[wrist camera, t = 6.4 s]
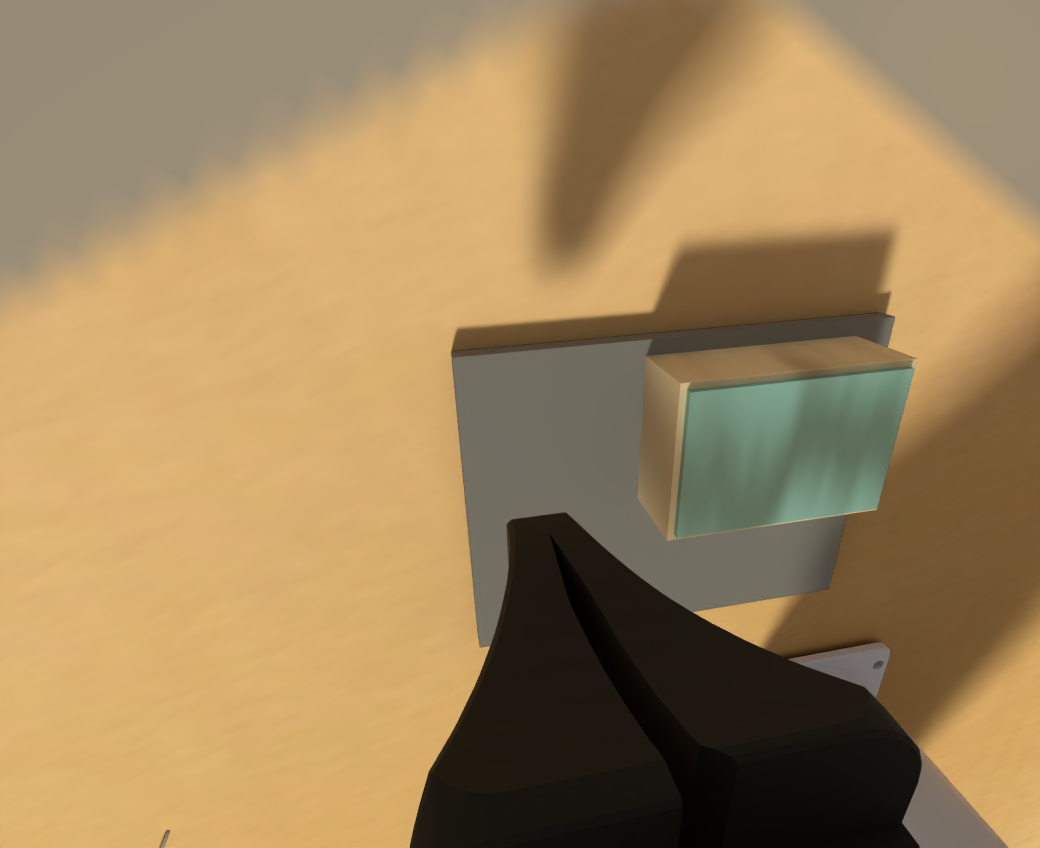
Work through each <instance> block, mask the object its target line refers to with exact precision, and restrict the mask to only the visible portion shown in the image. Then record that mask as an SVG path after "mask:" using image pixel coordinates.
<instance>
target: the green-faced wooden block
mask: <svg viewBox="0 0 1040 848" xmlns="http://www.w3.org/2000/svg"><path fill="white" fill-rule="evenodd" d="M916 362H917V358H914V357H912V356H909V355H906V354H904V353H901V352H898V351H896V350H893V349H890V348H887V347H885V346H882V345H879V344H877V343H874V342H871V341H869V340H866V339H863V338H861V337H858V336H848V337H838V338H827V339H817V340H807V341H796V342H786V343H776V344H765V345H755V346H745V347H734V348H724V349H714V350H703V351H693V352H682V353H672V354H662V355H651V356H646V361H645V378H644V396H643V414H642V431H641V449H640V466H639V484H638V500H639V501H640V502H641V504H642V505H643V507H644V508H645V510H646V511H647V513H648V514H649V515H650V517H651V518H652V520H653V521H654V523H655V524H656V526H657V527H658V528H659V530H660V531H661V533H662V534H663V536H664V537H665V539H666V540H667V541H669V540H675V539H682V538H689V537H696V536H703V535H709V534H716V533H723V532H730V531H737V530H743V529H750V528H757V527H764V526H770V525H777V524H784V523H791V522H798V521H804V520H811V519H818V518H825V517H832V516H838V515H845V514H852V513H859V512H865V511H872V510H877V507H878V503H879V500H880V496H881V492H882V489H883V485H884V481H885V478H886V474H887V470H888V466H889V463H890V459H891V455H892V452H893V448H894V444H895V440H896V437H897V433H898V429H899V426H900V422H901V418H902V415H903V411H904V407H905V403H906V400H907V396H908V392H909V389H910V385H911V381H912V377H913V374H914V370H915V365H916Z"/></svg>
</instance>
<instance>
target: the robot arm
mask: <svg viewBox="0 0 1040 848" xmlns="http://www.w3.org/2000/svg"><path fill="white" fill-rule="evenodd" d="M506 528H507V546H508V564H509V568H508V577H507V584H506V589H505V593H504V598H503V603H502V608H501V612H500V616H499V619H498V623H497V627H496V630H495V633H494V636H493V640H492V643H491V646H490V649H489V651H488V654H487V657H486V659H485V662H484V665H483V667H482V670H481V673H480V675H479V677H478V680H477V682H476V685H475V687H474V689H473V691H472V693H471V695H470V697H469V699H468V701H467V704H466V706H465V708H464V710H463V712H462V714H461V716H460V718H459V720H458V722H457V724H456V726H455V728H454V730H453V732H452V733H451V735H450V737H449V738H448V740H447V742H446V744H445V745H444V747H443V749H442V750H441V752H440V754H439V756H438V757H437V759H436V761H435V762H434V764H433V766H432V767H431V769H430V771H429V773H428V777H427V780H426V784H425V787H424V791H423V794H422V798H421V801H420V805H419V809H418V813H417V817H416V821H415V825H414V829H413V834H412V838H411V843H410V848H1008V846H1007V845H1006V844H1005V843H1004V842H1003V841H1002V840H1001V838H1000V837H999V836H998V835H997V834H996V833H995V832H994V831H993V829H992V828H991V827H990V826H989V825H988V824H987V823H986V822H985V820H984V819H983V818H982V817H981V816H980V815H979V814H978V812H977V811H976V810H975V809H974V808H973V807H972V806H971V805H970V803H969V802H968V801H967V800H966V799H965V798H964V797H963V795H962V794H961V793H960V792H959V791H958V790H957V789H956V788H955V786H954V785H953V784H952V783H951V782H950V781H949V780H948V778H947V777H946V776H945V775H944V774H943V773H942V772H941V771H940V769H939V768H938V767H937V766H936V765H935V764H934V763H933V762H932V760H931V759H930V758H929V757H928V756H927V755H926V754H925V752H924V751H923V750H922V749H921V748H920V747H919V746H918V745H917V743H916V742H915V741H914V740H913V739H912V738H911V737H910V735H909V734H908V733H907V732H906V731H905V730H904V729H903V728H902V726H901V725H900V724H899V723H898V722H897V721H896V720H895V718H894V717H893V716H892V715H891V714H890V713H889V712H888V711H887V709H886V708H885V707H884V706H883V705H882V704H881V703H880V702H879V700H878V699H877V698H876V697H877V694H878V691H879V688H880V684H881V681H882V678H883V675H884V672H885V669H886V666H887V663H888V660H889V657H890V650H889V648H888V647H887V646H886V645H885V644H883V643H881V642H879V643H871V644H866V645H861V646H855V647H850V648H844V649H839V650H834V651H828V652H823V653H817V654H812V655H807V656H801V657H796V658H791V659H786V658H784V657H782V656H779V655H777V654H774V653H772V652H770V651H767V650H765V649H763V648H761V647H758V646H756V645H754V644H752V643H750V642H748V641H745V640H743V639H741V638H739V637H737V636H735V635H733V634H731V633H730V632H728V631H726V630H724V629H722V628H720V627H718V626H716V625H714V624H712V623H710V622H708V621H707V620H705V619H703V618H701V617H700V616H698V615H696V614H694V613H693V612H691V611H690V610H688V609H686V608H685V607H683V606H682V605H680V604H678V603H677V602H675V601H673V600H672V599H670V598H669V597H667V596H666V595H664V594H663V593H661V592H660V591H658V590H657V589H655V588H654V587H653V586H651V585H650V584H649V583H647V582H646V581H645V580H643V579H642V578H641V577H639V576H638V575H637V574H635V573H634V572H633V571H632V570H630V569H629V568H628V567H627V566H625V565H624V564H623V563H622V562H621V561H620V560H618V559H617V558H616V557H615V556H614V555H612V554H611V553H610V552H609V551H608V550H607V549H605V548H604V547H603V546H602V545H601V544H600V543H599V542H598V541H597V540H595V539H594V538H593V537H592V536H591V535H590V534H589V533H588V532H587V531H586V530H585V529H584V528H583V527H582V526H580V525H579V524H578V523H577V522H576V521H575V520H574V519H573V518H572V517H571V516H570V515H569V514H567V513H566V512H563V513H555V514H548V515H540V516H533V517H525V518H518V519H511V520H510V521H509V522H508V523H507V524H506Z"/></svg>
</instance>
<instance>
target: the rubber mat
mask: <svg viewBox="0 0 1040 848" xmlns="http://www.w3.org/2000/svg"><path fill="white" fill-rule="evenodd" d="M894 320H895V317H894V316H891V315H887V314H884V313H870V314H859V315H848V316H837V317H826V318H815V319H804V320H793V321H782V322H771V323H760V324H749V325H738V326H727V327H716V328H705V329H694V330H683V331H672V332H661V333H650V334H639V335H628V336H617V337H606V338H595V339H584V340H573V341H562V342H551V343H540V344H529V345H518V346H507V347H496V348H485V349H474V350H463V351H451V356H452V366H453V377H454V388H455V398H456V409H457V419H458V430H459V440H460V451H461V461H462V472H463V483H464V493H465V504H466V514H467V525H468V535H469V546H470V556H471V567H472V577H473V588H474V599H475V609H476V620H477V630H478V639H479V646H480V648H481V647H487V646H491V643H492V640H493V636H494V633H495V630H496V627H497V623H498V619H499V616H500V612H501V608H502V603H503V598H504V593H505V589H506V584H507V577H508V568H509V564H508V546H507V528H506V524H507V523H508V522H509V521H510V520H511V519H518V518H525V517H533V516H540V515H548V514H555V513H563V512H566V513H567V514H569V515H570V516H571V517H572V518H573V519H574V520H575V521H576V522H577V523H578V524H579V525H580V526H582V527H583V528H584V529H585V530H586V531H587V532H588V533H589V534H590V535H591V536H592V537H593V538H594V539H595V540H597V541H598V542H599V543H600V544H601V545H602V546H603V547H604V548H605V549H607V550H608V551H609V552H610V553H611V554H612V555H614V556H615V557H616V558H617V559H618V560H620V561H621V562H622V563H623V564H624V565H625V566H627V567H628V568H629V569H630V570H632V571H633V572H634V573H635V574H637V575H638V576H639V577H641V578H642V579H643V580H645V581H646V582H647V583H649V584H650V585H651V586H653V587H654V588H655V589H657V590H658V591H660V592H661V593H663V594H664V595H666V596H667V597H669V598H670V599H672V600H673V601H675V602H677V603H678V604H680V605H682V606H683V607H685V608H686V609H688V610H690V611H691V612H696V611H702V610H708V609H714V608H720V607H725V606H731V605H737V604H743V603H749V602H755V601H761V600H767V599H773V598H779V597H785V596H791V595H797V594H803V593H809V592H815V591H821V590H827V589H829V586H830V582H831V578H832V574H833V570H834V565H835V561H836V557H837V553H838V549H839V545H840V541H841V537H842V533H843V529H844V525H845V520H846V516H847V514H845V515H838V516H832V517H825V518H818V519H811V520H804V521H798V522H791V523H784V524H777V525H770V526H764V527H757V528H750V529H743V530H737V531H730V532H723V533H716V534H709V535H703V536H696V537H689V538H682V539H675V540H669V541H667V540H666V539H665V537H664V536H663V534H662V533H661V531H660V530H659V528H658V527H657V526H656V524H655V523H654V521H653V520H652V518H651V517H650V515H649V514H648V513H647V511H646V510H645V508H644V507H643V505H642V504H641V502H640V501H639V500H638V484H639V466H640V449H641V431H642V414H643V396H644V378H645V361H646V356H651V355H662V354H672V353H682V352H693V351H703V350H714V349H724V348H734V347H745V346H755V345H765V344H776V343H786V342H796V341H807V340H817V339H827V338H838V337H848V336H858V337H861V338H863V339H866V340H869V341H871V342H874V343H877V344H879V345H882V346H885V347H887V348H888V344H889V340H890V336H891V332H892V328H893V324H894Z"/></svg>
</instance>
